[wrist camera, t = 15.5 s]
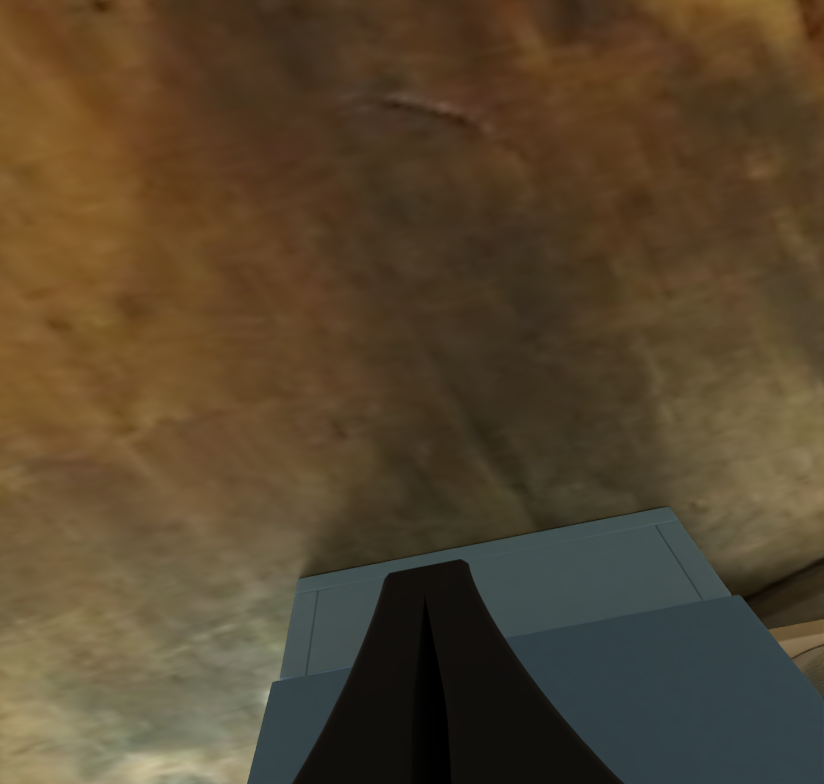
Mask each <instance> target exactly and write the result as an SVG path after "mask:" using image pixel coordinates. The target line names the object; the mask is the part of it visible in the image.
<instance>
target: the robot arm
mask: <svg viewBox="0 0 824 784" xmlns="http://www.w3.org/2000/svg"><path fill="white" fill-rule="evenodd" d="M292 784H624V783H623V782H622V781H621V780H620V779H619V778H618V777H617V776H616V775H615V774H614V773H613V772H612V771H611V770H610V769H609V768H608V767H607V766H606V765H605V764H604V763H603V762H602V760H601V759H600V758H599V757H598V756H597V755H596V754H595V753H594V752H593V751H592V750H591V749H590V747H589V746H588V745H587V744H586V743H585V742H584V741H583V740H582V739H581V738H580V736H579V735H578V734H577V733H576V732H575V731H574V729H573V728H572V727H571V726H570V725H569V724H568V723H567V721H566V720H565V719H564V718H563V717H562V716H561V714H560V713H559V712H558V711H557V709H556V708H555V707H554V706H553V705H552V703H551V702H550V701H549V699H548V698H547V697H546V696H545V694H544V693H543V692H542V691H541V689H540V688H539V687H538V685H537V684H536V683H535V681H534V680H533V678H532V677H531V676H530V674H529V673H528V672H527V670H526V669H525V668H524V666H523V665H522V663H521V662H520V660H519V659H518V658H517V656H516V655H515V653H514V652H513V650H512V649H511V647H510V646H509V644H508V642H507V641H506V639H505V638H504V636H503V635H502V633H501V631H500V630H499V628H498V627H497V625H496V623H495V622H494V620H493V618H492V617H491V615H490V613H489V611H488V609H487V607H486V606H485V604H484V602H483V600H482V598H481V596H480V594H479V592H478V589H477V587H476V585H475V582H474V580H473V577H472V574H471V571H470V567H469V563H467V562H465V561H464V560H462V559H458V560H453V561H447V562H442V563H437V564H432V565H427V566H422V567H417V568H412V569H407V570H402V571H397V572H391V573H389V574H388V575H387V576H386V578H385V579H384V582H383V585H382V589H381V592H380V596H379V599H378V602H377V605H376V608H375V611H374V614H373V617H372V619H371V622H370V625H369V628H368V630H367V633H366V636H365V638H364V641H363V643H362V645H361V648H360V650H359V653H358V655H357V657H356V660H355V662H354V664H353V667H352V669H351V672H350V674H349V676H348V678H347V681H346V683H345V685H344V687H343V689H342V691H341V693H340V695H339V697H338V699H337V701H336V703H335V705H334V707H333V710H332V712H331V714H330V716H329V718H328V720H327V722H326V724H325V726H324V728H323V730H322V731H321V733H320V735H319V737H318V739H317V741H316V743H315V744H314V746H313V748H312V750H311V752H310V753H309V755H308V757H307V759H306V760H305V762H304V764H303V765H302V767H301V769H300V771H299V772H298V774H297V776H296V777H295V779H294V781H293V782H292Z"/></svg>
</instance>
